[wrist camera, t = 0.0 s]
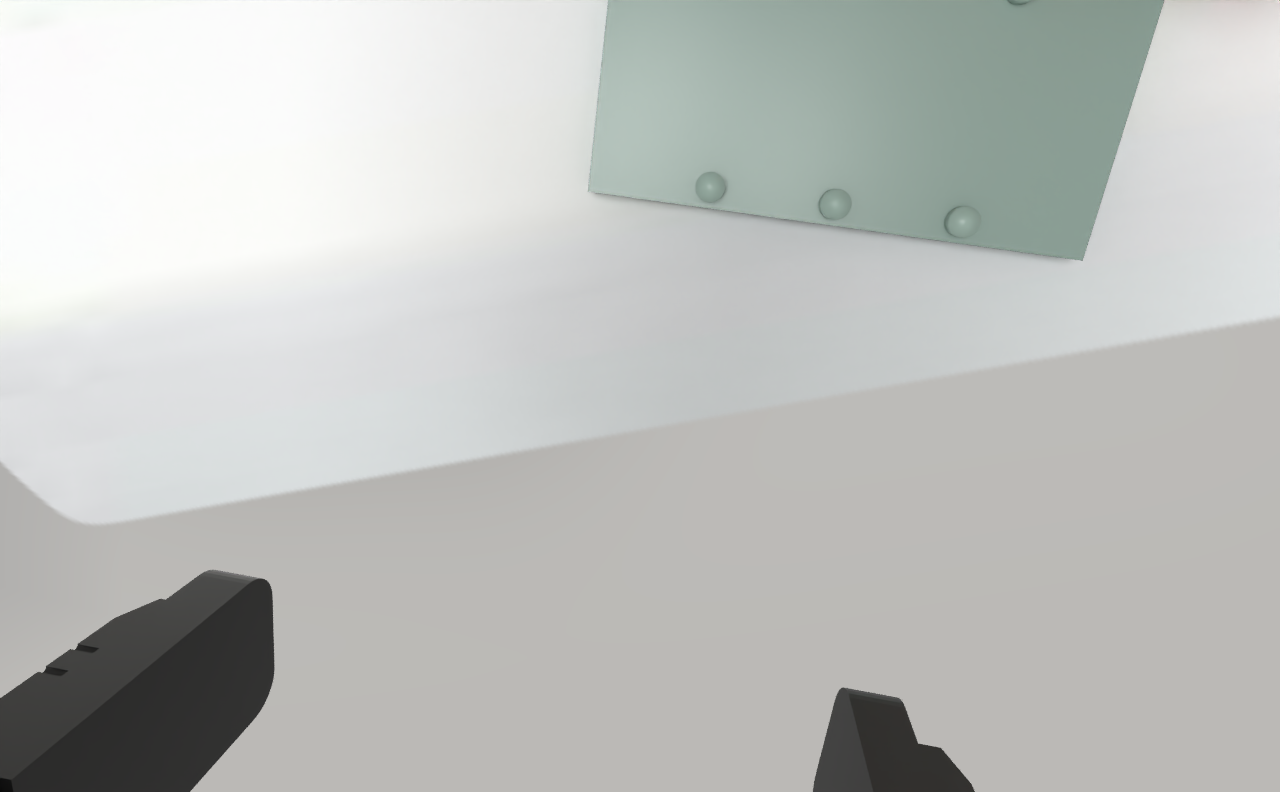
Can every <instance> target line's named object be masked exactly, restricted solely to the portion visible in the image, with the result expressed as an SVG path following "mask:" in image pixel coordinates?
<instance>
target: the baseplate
mask: <svg viewBox="0 0 1280 792" xmlns="http://www.w3.org/2000/svg"><path fill="white" fill-rule="evenodd" d="M1163 3H1164V0H608V8H607V17H606V27H605V36H604V46H603V55H602V65H601V74H600V83H599V93H598V102H597V112H596V121H595V131H594V140H593V150H592V159H591V169H590V178H589V188H588V192H595V193H602V194H609V195H616V196H623V197H630V198H638V199H645V200H652V201H659V202H666V203H673V204H681V205H688V206H695V207H702V208H709V209H716V210H724V211H731V212H738V213H745V214H752V215H759V216H767V217H774V218H781V219H788V220H795V221H802V222H809V223H817V224H824V225H831V226H838V227H845V228H852V229H860V230H867V231H874V232H881V233H888V234H895V235H903V236H910V237H917V238H924V239H931V240H938V241H946V242H953V243H960V244H967V245H974V246H981V247H988V248H996V249H1003V250H1010V251H1017V252H1024V253H1031V254H1039V255H1046V256H1053V257H1060V258H1067V259H1074V260H1082V261H1083V258H1084V254H1085V251H1086V248H1087V245H1088V242H1089V238H1090V235H1091V232H1092V229H1093V226H1094V223H1095V219H1096V216H1097V213H1098V210H1099V207H1100V203H1101V200H1102V197H1103V194H1104V191H1105V188H1106V184H1107V181H1108V178H1109V175H1110V172H1111V168H1112V165H1113V162H1114V159H1115V156H1116V153H1117V149H1118V146H1119V143H1120V140H1121V137H1122V133H1123V130H1124V127H1125V124H1126V121H1127V118H1128V114H1129V111H1130V108H1131V105H1132V102H1133V98H1134V95H1135V92H1136V89H1137V86H1138V83H1139V79H1140V76H1141V73H1142V70H1143V67H1144V63H1145V60H1146V57H1147V54H1148V51H1149V48H1150V44H1151V41H1152V38H1153V35H1154V32H1155V28H1156V25H1157V22H1158V19H1159V16H1160V13H1161V9H1162V6H1163Z"/></svg>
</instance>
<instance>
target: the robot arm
mask: <svg viewBox="0 0 1280 792" xmlns="http://www.w3.org/2000/svg"><path fill="white" fill-rule="evenodd" d="M273 638H274V637H273V600H272V589H271V586H270V584H269V583H268V582H267V580H265V579H261V578H255V577H250V576H244V575H239V574H234V573H228V572H223V571H218V570H209V571H206V572H204V573H202V574H201V575H199V576H198V577H196V578H195V579H194V580H192V581H191V582H189V583H188V584H187V585H185V586H184V587H183V588H181V589H180V590H179V591H177V592H176V593H174V594H173V595H172V596H170V597H169V598H168V599H166V600H163V599H159V600H156V601H154V602H151V603H149V604H147V605H144V606H142V607H140V608H137V609H135V610H133V611H130V612H128V613H126V614H123V615H121V616H119V617H116V618H114V619H113V620H111V621H110V622H109V623H107V624H106V625H104V626H103V627H102V628H100V629H99V630H97V631H96V632H94V633H93V634H91V635H90V636H89V637H87V638H86V639H84V640H83V641H81V642H80V643H79V644H78V646H77V648H76V649H75V650H71V649H70V650H69V651H67V652H66V653H64V654H63V655H62V656H60V657H59V658H57V659H56V660H54V661H53V662H51V663H50V664H49V665H47V666H46V669H45V671H44V672H43V673H41V672H37V673H36V674H34V675H33V676H31V677H30V678H29V679H27V680H26V681H24V682H23V683H22V684H20V685H19V686H17V687H16V688H14V689H13V690H12V691H10V692H9V693H7V694H6V695H4V696H3V697H2V698H0V792H190V791H191V790H192V789H193V788H194V786H195V785H196V784H197V783H198V782H199V781H200V780H201V779H202V777H203V776H204V775H205V774H206V773H207V772H208V771H209V769H210V768H211V767H212V766H213V765H214V764H215V763H216V762H217V761H218V759H219V758H220V757H221V756H222V755H223V754H224V753H225V752H226V750H227V749H228V748H229V747H230V746H231V745H232V744H233V743H234V741H235V740H236V739H237V738H238V737H239V736H240V735H241V733H242V732H243V731H244V730H245V729H246V728H247V727H248V725H249V724H250V723H251V722H252V721H253V720H254V719H255V717H256V716H257V715H258V713H259V712H260V710H261V709H262V707H263V705H264V704H265V701H266V699H267V697H268V695H269V692H270V689H271V686H272V682H273V677H274V639H273ZM813 792H975V791H974V789H973V787H972V784H971V783H970V782H969V781H968V780H967V779H966V777H965V776H964V775H963V774H962V773H961V771H960V770H959V769H958V768H957V767H956V765H955V764H954V763H953V762H952V761H951V759H950V758H949V757H948V756H947V755H946V754H945V753H944V751H943V750H942V749H941V748H938V747H933V746H928V745H923V744H918V742H917V739H916V737H915V734H914V731H913V728H912V725H911V722H910V720H909V717H908V714H907V711H906V709H905V706H904V704H903V702H902V701H901V700H900V699H899V698H896V697H891V696H886V695H880V694H875V693H870V692H864V691H859V690H853V689H848V688H841V689H840V690H839V692H838V694H837V696H836V699H835V703H834V706H833V710H832V714H831V718H830V722H829V726H828V729H827V733H826V737H825V741H824V745H823V749H822V753H821V757H820V760H819V764H818V768H817V772H816V776H815V781H814V788H813Z"/></svg>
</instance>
